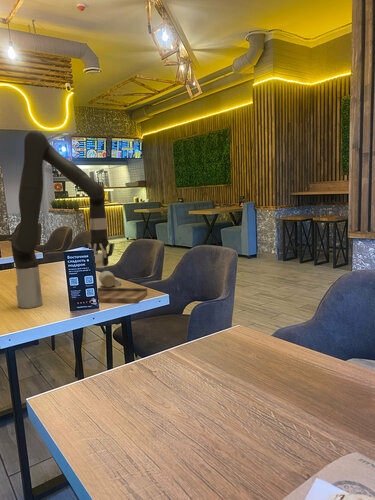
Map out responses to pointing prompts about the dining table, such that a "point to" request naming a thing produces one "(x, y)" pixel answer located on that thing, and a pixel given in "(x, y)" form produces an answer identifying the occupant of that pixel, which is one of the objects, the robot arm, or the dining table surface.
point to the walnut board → (121, 295)
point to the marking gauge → (99, 260)
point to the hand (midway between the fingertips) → (101, 265)
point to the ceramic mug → (108, 279)
